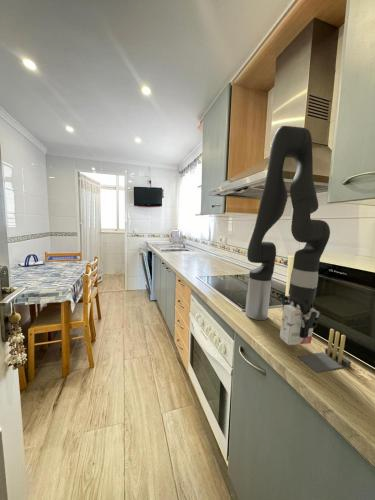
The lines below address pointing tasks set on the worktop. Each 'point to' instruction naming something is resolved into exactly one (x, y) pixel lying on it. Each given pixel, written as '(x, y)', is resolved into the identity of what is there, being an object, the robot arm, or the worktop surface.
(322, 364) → the rubber pad
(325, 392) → the worktop surface
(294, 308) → the ink box
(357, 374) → the worktop surface
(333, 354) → the pin header
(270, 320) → the worktop surface
